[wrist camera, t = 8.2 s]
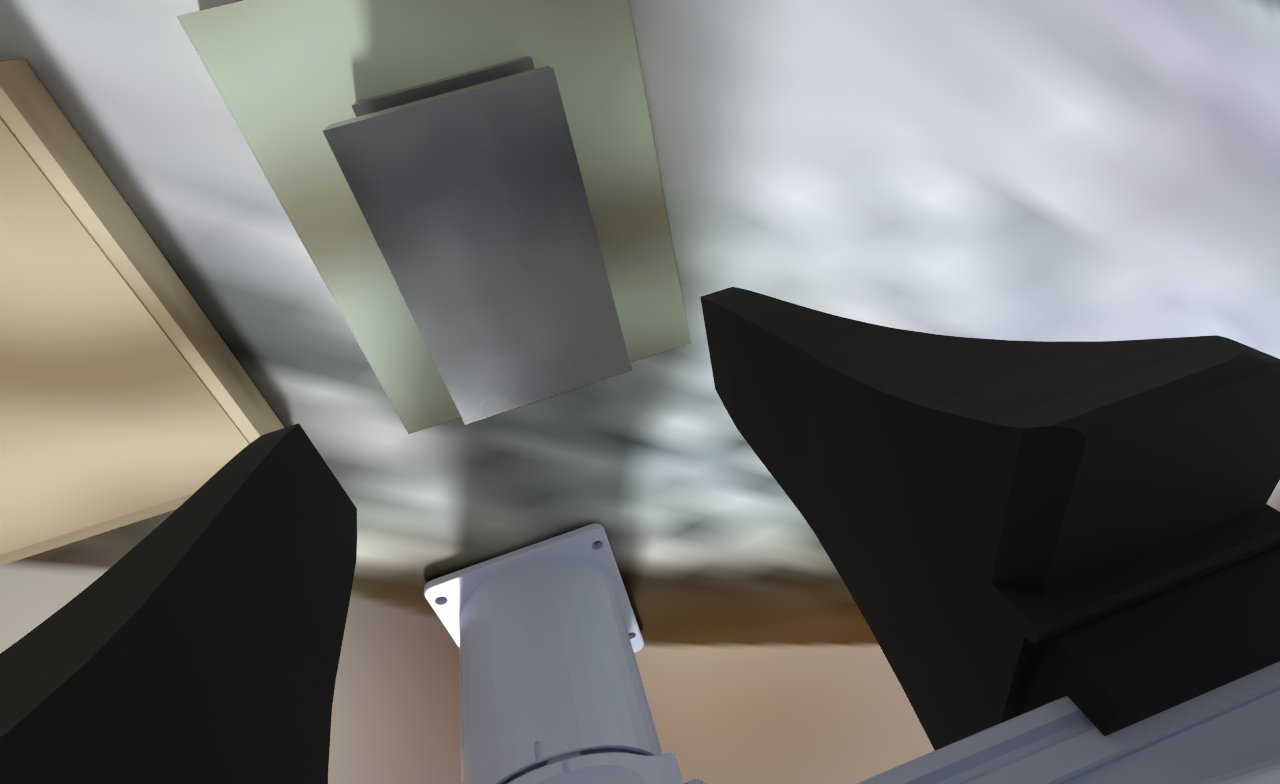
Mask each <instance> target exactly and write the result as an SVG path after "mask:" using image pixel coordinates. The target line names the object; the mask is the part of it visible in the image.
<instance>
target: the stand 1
mask: <svg viewBox="0 0 1280 784" xmlns="http://www.w3.org/2000/svg"><path fill="white" fill-rule="evenodd" d="M283 428H285V427H284V426H283V425H282V423H281V422H280V420H279V419H278V418H277V416H276V415H275V413H274V412H273V410H272V409H271V408H270V406H269V405H268V403H267V402H266V401H265V399H264V398H263V396H262V395H261V393H260V392H259V391H258V389H257V388H256V386H255V385H254V384H253V382H252V381H251V379H250V378H249V376H248V375H247V374H246V372H245V371H244V369H243V368H242V366H241V365H240V364H239V362H238V361H237V359H236V358H235V357H234V355H233V354H232V352H231V351H230V349H229V348H228V347H227V345H226V344H225V342H224V341H223V340H222V338H221V337H220V335H219V334H218V332H217V331H216V330H215V328H214V327H213V325H212V324H211V323H210V321H209V320H208V318H207V317H206V315H205V314H204V313H203V311H202V310H201V308H200V307H199V305H198V304H197V303H196V301H195V300H194V298H193V297H192V296H191V294H190V293H189V291H188V290H187V288H186V287H185V286H184V284H183V283H182V281H181V280H180V279H179V277H178V276H177V274H176V273H175V271H174V270H173V269H172V267H171V266H170V264H169V263H168V262H167V260H166V259H165V257H164V256H163V254H162V253H161V252H160V250H159V249H158V247H157V246H156V245H155V243H154V242H153V240H152V239H151V237H150V236H149V235H148V233H147V232H146V230H145V229H144V227H143V226H142V225H141V223H140V222H139V220H138V219H137V218H136V216H135V215H134V213H133V212H132V210H131V209H130V208H129V206H128V205H127V203H126V202H125V201H124V199H123V198H122V196H121V195H120V193H119V192H118V191H117V189H116V188H115V186H114V185H113V184H112V182H111V181H110V179H109V178H108V176H107V175H106V174H105V172H104V171H103V169H102V168H101V167H100V165H99V164H98V162H97V161H96V159H95V158H94V157H93V155H92V154H91V152H90V151H89V149H88V148H87V147H86V145H85V144H84V142H83V141H82V140H81V138H80V137H79V135H78V134H77V132H76V131H75V130H74V128H73V127H72V125H71V124H70V123H69V121H68V120H67V118H66V117H65V115H64V114H63V113H62V111H61V110H60V108H59V107H58V106H57V104H56V103H55V101H54V100H53V98H52V97H51V96H50V94H49V93H48V91H47V90H46V89H45V87H44V86H43V84H42V83H41V81H40V80H39V79H38V77H37V76H36V74H35V73H34V71H33V70H32V69H31V67H30V66H29V64H28V63H27V62H26V60H25V59H17V60H6V61H0V566H1V565H4V564H7V563H10V562H13V561H16V560H20V559H23V558H26V557H29V556H32V555H35V554H38V553H41V552H44V551H47V550H50V549H54V548H57V547H60V546H63V545H66V544H69V543H72V542H75V541H78V540H81V539H85V538H88V537H91V536H94V535H97V534H100V533H103V532H106V531H109V530H112V529H116V528H119V527H122V526H125V525H128V524H131V523H134V522H137V521H140V520H143V519H147V518H150V517H153V516H156V515H159V514H162V513H165V512H168V511H171V510H174V509H178V508H179V507H180V506H181V505H182V504H183V503H184V502H185V501H186V500H187V499H188V498H190V497H191V496H192V495H193V494H194V493H195V492H196V491H197V490H198V489H199V488H200V487H201V486H202V485H204V484H205V483H206V482H207V481H208V480H209V479H210V478H211V477H212V476H213V475H214V474H216V473H217V472H218V471H219V470H220V469H221V468H222V467H223V466H224V465H225V464H227V463H228V462H229V461H230V460H231V459H232V458H233V457H234V456H236V455H237V454H238V453H239V452H240V451H242V450H243V449H244V448H245V447H246V446H248V445H249V444H250V443H252V442H253V441H254V440H256V439H257V438H259V437H260V436H262V435H264V434H267V433H270V432H273V431H277V430H280V429H283Z"/></svg>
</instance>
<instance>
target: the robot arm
mask: <svg viewBox="0 0 1280 784" xmlns="http://www.w3.org/2000/svg"><path fill="white" fill-rule="evenodd" d="M701 303H702V309H703V315H704V321H705V328H706V334H707V340H708V346H709V352H710V358H711V365H712V371H713V377H714V383H715V389H716V391H717V393H718V395H719V397H720V398H721V400H722V402H723V404H724V406H725V408H726V410H727V411H728V413H729V415H730V417H731V419H732V420H733V422H734V424H735V426H736V427H737V429H738V430H739V432H740V433H741V434H742V436H743V437H744V439H745V440H746V441H747V443H748V444H749V445H750V447H751V448H752V449H753V451H754V452H755V453H756V455H757V456H758V457H759V459H760V460H761V461H762V463H763V464H764V465H765V466H766V468H767V469H768V470H769V472H770V473H771V474H772V476H773V477H774V478H775V480H776V481H777V482H778V483H779V485H780V486H781V487H782V489H783V490H784V491H785V493H786V494H787V495H788V497H789V498H790V499H791V501H792V502H793V503H794V504H795V506H796V507H797V508H798V510H799V511H800V512H801V514H802V515H803V517H804V518H805V520H806V521H807V523H808V524H809V525H810V527H811V528H812V530H813V531H814V533H815V534H816V536H817V538H818V539H819V541H820V543H821V544H822V546H823V548H824V549H825V551H826V553H827V554H828V556H829V558H830V559H831V561H832V563H833V564H834V566H835V568H836V569H837V571H838V573H839V574H840V576H841V578H842V580H843V581H844V583H845V585H846V587H847V588H848V590H849V592H850V594H851V595H852V597H853V599H854V601H855V602H856V604H857V606H858V608H859V609H860V611H861V613H862V615H863V616H864V618H865V620H866V622H867V623H868V625H869V627H870V629H871V630H872V632H873V634H874V636H875V638H876V640H877V642H878V643H879V645H880V647H881V649H882V651H883V653H884V654H885V656H886V658H887V660H888V662H889V663H890V665H891V667H892V669H893V671H894V673H895V675H896V676H897V678H898V680H899V682H900V684H901V686H902V688H903V689H904V691H905V693H906V695H907V697H908V699H909V701H910V703H911V705H912V707H913V709H914V711H915V713H916V714H917V716H918V718H919V720H920V723H921V724H922V726H923V728H924V730H925V732H926V734H927V736H928V738H929V740H930V742H931V744H932V746H933V748H934V750H935V751H933V752H931V753H928V754H926V755H924V756H921V757H919V758H917V759H914V760H912V761H909V762H907V763H905V764H902V765H900V766H897V767H895V768H893V769H890V770H888V771H885V772H883V773H881V774H879V775H876V776H873V777H871V778H869V779H866V780H864V781H862V782H859V783H857V784H1280V512H1279V511H1277V510H1276V509H1274V508H1272V507H1270V506H1269V505H1267V504H1266V503H1267V501H1268V499H1269V498H1270V496H1271V494H1272V492H1273V490H1274V489H1275V487H1276V485H1277V483H1278V482H1279V480H1280V359H1278V358H1275V357H1273V356H1270V355H1268V354H1266V353H1263V352H1261V351H1258V350H1256V349H1253V348H1251V347H1248V346H1246V345H1244V344H1241V343H1239V342H1236V341H1233V340H1231V339H1228V338H1225V337H1221V336H1200V337H1182V338H1164V339H1146V340H1129V341H1107V342H1036V341H1007V340H993V339H978V338H964V337H954V336H944V335H935V334H929V333H922V332H915V331H908V330H901V329H895V328H889V327H884V326H879V325H874V324H869V323H865V322H861V321H856V320H852V319H847V318H843V317H839V316H835V315H831V314H827V313H824V312H820V311H816V310H813V309H809V308H806V307H802V306H799V305H796V304H792V303H789V302H786V301H782V300H779V299H776V298H773V297H769V296H766V295H763V294H759V293H756V292H752V291H749V290H745V289H741V288H735V287H731V288H727V289H724V290H721V291H718V292H715V293H712V294H708V295H705V296H702V297H701ZM596 541H600V542H598V543H594V542H596ZM356 550H357V508H356V507H355V505H354V504H353V502H352V501H351V500H350V498H349V497H348V495H347V494H346V492H345V491H344V489H343V488H342V486H341V485H340V483H339V482H338V480H337V479H336V477H335V476H334V475H333V473H332V472H331V470H330V469H329V467H328V466H327V464H326V463H325V461H324V460H323V458H322V457H321V455H320V454H319V452H318V451H317V450H316V448H315V447H314V445H313V444H312V442H311V441H310V439H309V438H308V436H307V435H306V433H305V432H304V430H303V429H302V427H301V426H300V425H299V424H296V425H292V426H289V427H286V428H283V429H280V430H277V431H273V432H270V433H267V434H264V435H262V436H260V437H259V438H257V439H256V440H254V441H253V442H252V443H250V444H249V445H248V446H246V447H245V448H244V449H243V450H242V451H240V452H239V453H238V454H237V455H236V456H234V457H233V458H232V459H231V460H230V461H229V462H228V463H227V464H225V465H224V466H223V467H222V468H221V469H220V470H219V471H218V472H217V473H216V474H214V475H213V476H212V477H211V478H210V479H209V480H208V481H207V482H206V483H205V484H204V485H202V486H201V487H200V488H199V489H198V490H197V491H196V492H195V493H194V494H193V495H192V496H191V497H190V498H188V499H187V500H186V501H185V502H184V503H183V504H182V505H181V506H180V507H179V508H178V509H177V510H175V511H174V512H173V513H172V514H171V515H170V516H169V517H168V518H167V519H166V520H165V521H164V522H162V523H161V524H160V525H159V526H158V527H157V528H156V529H155V530H153V531H152V532H151V533H150V534H149V535H148V536H147V537H145V538H144V539H143V540H142V541H141V542H140V543H139V544H137V545H136V546H135V547H134V548H133V549H132V550H131V551H129V552H128V553H127V554H126V555H125V556H124V557H123V558H121V559H120V560H119V561H118V562H117V563H116V564H115V565H113V566H112V567H111V568H110V569H109V570H108V571H107V572H105V573H104V574H103V575H102V576H101V577H99V578H98V579H97V580H96V581H95V582H93V583H92V584H91V585H90V586H89V587H87V588H86V589H85V590H84V591H82V592H81V593H80V594H79V595H77V596H76V597H75V598H74V599H72V600H71V601H70V602H69V603H67V604H66V605H65V606H64V607H62V608H61V609H60V610H58V611H57V612H56V613H54V614H53V615H52V616H51V617H49V618H48V619H47V620H45V621H44V622H43V623H41V624H40V625H39V626H37V627H36V628H35V629H33V630H32V631H31V632H29V633H28V634H27V635H26V636H24V637H23V638H21V639H20V640H19V641H18V642H16V643H15V644H13V645H12V646H11V647H9V648H8V649H6V650H5V651H4V652H2V653H1V654H0V784H328V762H329V746H330V729H331V728H330V727H331V712H332V703H333V695H334V687H335V679H336V674H337V669H338V663H339V657H340V652H341V646H342V640H343V635H344V629H345V623H346V618H347V612H348V607H349V601H350V595H351V589H352V583H353V577H354V571H355V564H356ZM424 596H425V598H426V599H427V601H428V602H429V604H430V605H431V607H432V608H433V610H434V611H435V613H436V614H437V616H438V617H439V619H440V620H441V622H442V623H443V624H444V626H445V627H446V629H447V630H448V632H449V633H450V635H451V636H452V638H453V639H454V641H455V642H456V644H457V645H458V647H459V648H460V709H461V710H460V711H461V712H460V713H461V784H706V783H704V782H703V781H702V780H699V779H694V780H691V781H689V782H686V783H683V780H682V777H681V774H680V770H679V767H678V763H677V760H676V757H675V754H674V753H672V752H670V753H666V754H663V753H662V749H661V746H660V742H659V739H658V735H657V732H656V729H655V725H654V722H653V718H652V714H651V711H650V708H649V704H648V700H647V697H646V693H645V690H644V686H643V683H642V679H641V676H640V672H639V669H638V665H637V662H636V658H635V655H634V653H635V652H637V651H639V650H641V649H642V648H643V646H644V641H643V638H642V635H641V632H640V629H639V626H638V624H637V621H636V618H635V615H634V612H633V609H632V607H631V604H630V601H629V598H628V595H627V592H626V589H625V587H624V584H623V581H622V578H621V575H620V572H619V570H618V567H617V564H616V561H615V558H614V555H613V552H612V550H611V547H610V544H609V541H608V538H607V535H606V533H605V530H604V528H603V526H602V525H600V524H590V525H587V526H585V527H582V528H579V529H576V530H573V531H570V532H567V533H565V534H562V535H559V536H556V537H553V538H550V539H547V540H545V541H542V542H539V543H536V544H533V545H530V546H527V547H525V548H522V549H519V550H516V551H513V552H510V553H507V554H505V555H502V556H499V557H496V558H493V559H490V560H487V561H484V562H482V563H479V564H476V565H473V566H470V567H467V568H464V569H462V570H459V571H456V572H453V573H450V574H447V575H444V576H442V577H439V578H436V579H433V580H431V581H429V582H427V583H426V585H425V587H424ZM441 596H443V597H441ZM439 597H441V598H439Z"/></svg>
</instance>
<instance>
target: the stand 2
mask: <svg viewBox="0 0 1280 784" xmlns="http://www.w3.org/2000/svg"><path fill="white" fill-rule="evenodd" d="M177 18H178V19H179V21H180V23H181V25H182V27H183V28H184V30H185V32H186V34H187V36H188V37H189V39H190V41H191V43H192V45H193V46H194V48H195V50H196V52H197V54H198V55H199V57H200V59H201V61H202V63H203V64H204V66H205V68H206V70H207V72H208V73H209V75H210V77H211V79H212V81H213V82H214V84H215V86H216V88H217V90H218V91H219V93H220V95H221V97H222V99H223V100H224V102H225V104H226V106H227V108H228V109H229V111H230V113H231V115H232V117H233V118H234V120H235V122H236V124H237V126H238V127H239V129H240V131H241V133H242V135H243V136H244V138H245V140H246V142H247V144H248V145H249V147H250V149H251V151H252V153H253V155H254V156H255V158H256V160H257V162H258V164H259V165H260V167H261V169H262V171H263V173H264V174H265V176H266V178H267V180H268V182H269V183H270V185H271V187H272V189H273V191H274V192H275V194H276V196H277V198H278V200H279V201H280V203H281V205H282V207H283V209H284V210H285V212H286V214H287V216H288V218H289V219H290V221H291V223H292V225H293V227H294V228H295V230H296V232H297V234H298V236H299V237H300V239H301V241H302V243H303V245H304V246H305V248H306V250H307V252H308V254H309V255H310V257H311V259H312V261H313V263H314V264H315V266H316V268H317V270H318V272H319V273H320V275H321V277H322V279H323V281H324V282H325V284H326V286H327V288H328V290H329V291H330V293H331V295H332V297H333V299H334V300H335V302H336V304H337V306H338V308H339V309H340V311H341V313H342V315H343V317H344V318H345V320H346V322H347V324H348V326H349V327H350V329H351V331H352V333H353V335H354V336H355V338H356V340H357V342H358V344H359V345H360V347H361V349H362V351H363V353H364V354H365V356H366V358H367V360H368V362H369V363H370V365H371V367H372V369H373V371H374V373H375V374H376V376H377V378H378V380H379V382H380V383H381V385H382V387H383V389H384V391H385V392H386V394H387V396H388V398H389V400H390V401H391V403H392V405H393V407H394V409H395V410H396V412H397V414H398V416H399V418H400V419H401V421H402V423H403V425H404V427H405V428H406V430H407V432H408V434H411V433H414V432H417V431H420V430H423V429H426V428H429V427H432V426H435V425H438V424H442V423H445V422H448V421H451V420H454V419H457V418H460V417H461V415H460V413H459V411H458V409H457V407H456V405H455V403H454V401H453V399H452V397H451V395H450V393H449V391H448V389H447V387H446V384H445V382H444V380H443V378H442V376H441V374H440V372H439V370H438V368H437V366H436V364H435V362H434V360H433V358H432V356H431V354H430V352H429V349H428V347H427V345H426V343H425V341H424V339H423V337H422V335H421V333H420V331H419V329H418V327H417V325H416V323H415V321H414V319H413V317H412V314H411V312H410V310H409V308H408V306H407V304H406V302H405V300H404V298H403V296H402V294H401V292H400V290H399V288H398V286H397V284H396V282H395V279H394V277H393V275H392V273H391V271H390V269H389V267H388V265H387V263H386V261H385V259H384V257H383V255H382V253H381V251H380V249H379V246H378V244H377V242H376V240H375V238H374V236H373V234H372V232H371V230H370V228H369V226H368V224H367V222H366V220H365V218H364V216H363V214H362V211H361V209H360V207H359V205H358V203H357V201H356V199H355V197H354V195H353V193H352V191H351V189H350V187H349V185H348V183H347V181H346V179H345V176H344V174H343V172H342V170H341V168H340V166H339V164H338V162H337V160H336V158H335V156H334V154H333V152H332V150H331V148H330V146H329V144H328V141H327V139H326V137H325V135H324V133H323V130H324V129H325V128H326V127H327V126H329V125H330V124H333V123H337V122H341V121H344V120H348V119H352V118H356V115H355V113H354V111H353V108H352V106H351V105H353V104H354V103H355V102H357V101H360V100H364V99H368V98H372V97H375V96H379V95H383V94H386V93H390V92H394V91H398V90H401V89H405V88H409V87H413V86H416V85H420V84H424V83H428V82H431V81H435V80H439V79H443V78H446V77H450V76H454V75H458V74H461V73H465V72H469V71H472V70H476V69H480V68H484V67H487V66H491V65H495V64H499V63H502V62H506V61H510V60H514V59H517V58H521V57H525V56H530V57H532V60H533V64H534V68H535V69H537V68H541V67H544V66H550V67H552V68H554V72H555V76H556V80H557V84H558V87H559V91H560V95H561V99H562V103H563V107H564V110H565V114H566V118H567V122H568V126H569V130H570V134H571V137H572V141H573V145H574V149H575V153H576V157H577V160H578V164H579V168H580V172H581V176H582V180H583V184H584V187H585V191H586V195H587V199H588V203H589V207H590V210H591V214H592V218H593V222H594V226H595V230H596V233H597V237H598V241H599V245H600V249H601V253H602V257H603V260H604V264H605V268H606V272H607V276H608V280H609V283H610V287H611V291H612V295H613V299H614V303H615V307H616V310H617V314H618V318H619V322H620V326H621V330H622V333H623V337H624V341H625V345H626V349H627V353H628V357H629V360H630V363H631V362H634V361H637V360H640V359H643V358H646V357H649V356H652V355H655V354H659V353H662V352H665V351H668V350H671V349H674V348H677V347H680V346H683V345H686V344H690V338H689V333H688V327H687V321H686V316H685V310H684V305H683V299H682V294H681V288H680V283H679V277H678V272H677V266H676V261H675V255H674V250H673V244H672V238H671V233H670V227H669V222H668V216H667V211H666V205H665V200H664V194H663V189H662V183H661V178H660V172H659V166H658V161H657V155H656V150H655V144H654V139H653V133H652V128H651V122H650V117H649V111H648V106H647V100H646V94H645V89H644V83H643V78H642V72H641V67H640V61H639V56H638V50H637V45H636V39H635V34H634V28H633V23H632V17H631V11H630V6H629V0H243V1H238V2H234V3H230V4H226V5H222V6H218V7H213V8H209V9H205V10H201V11H197V12H193V13H188V14H184V15H180V16H177Z"/></svg>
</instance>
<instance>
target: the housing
mask: <svg viewBox="0 0 1280 784" xmlns="http://www.w3.org/2000/svg"><path fill="white" fill-rule="evenodd" d="M351 106H352V108H353V111H354V113H355V115H356V118H352V119H348V120H344V121H341V122H337V123H333V124H330V125H329V126H327V127H326V128H325V129H324V130H323V133H324V135H325V137H326V139H327V141H328V144H329V146H330V148H331V150H332V152H333V154H334V156H335V158H336V160H337V162H338V164H339V166H340V168H341V170H342V172H343V174H344V176H345V179H346V181H347V183H348V185H349V187H350V189H351V191H352V193H353V195H354V197H355V199H356V201H357V203H358V205H359V207H360V209H361V211H362V214H363V216H364V218H365V220H366V222H367V224H368V226H369V228H370V230H371V232H372V234H373V236H374V238H375V240H376V242H377V244H378V246H379V249H380V251H381V253H382V255H383V257H384V259H385V261H386V263H387V265H388V267H389V269H390V271H391V273H392V275H393V277H394V279H395V282H396V284H397V286H398V288H399V290H400V292H401V294H402V296H403V298H404V300H405V302H406V304H407V306H408V308H409V310H410V312H411V314H412V317H413V319H414V321H415V323H416V325H417V327H418V329H419V331H420V333H421V335H422V337H423V339H424V341H425V343H426V345H427V347H428V349H429V352H430V354H431V356H432V358H433V360H434V362H435V364H436V366H437V368H438V370H439V372H440V374H441V376H442V378H443V380H444V382H445V384H446V387H447V389H448V391H449V393H450V395H451V397H452V399H453V401H454V403H455V405H456V407H457V409H458V411H459V413H460V415H461V417H462V419H463V422H464V424H465V425H466V424H469V423H472V422H475V421H478V420H481V419H485V418H488V417H491V416H494V415H497V414H500V413H503V412H506V411H509V410H512V409H515V408H518V407H521V406H524V405H527V404H530V403H533V402H536V401H539V400H542V399H545V398H548V397H551V396H555V395H558V394H561V393H564V392H567V391H570V390H573V389H576V388H579V387H582V386H585V385H588V384H591V383H594V382H597V381H600V380H603V379H606V378H609V377H612V376H615V375H618V374H622V373H625V372H628V371H631V370H632V368H631V364H630V360H629V357H628V353H627V349H626V345H625V341H624V337H623V333H622V330H621V326H620V322H619V318H618V314H617V310H616V307H615V303H614V299H613V295H612V291H611V287H610V283H609V280H608V276H607V272H606V268H605V264H604V260H603V257H602V253H601V249H600V245H599V241H598V237H597V233H596V230H595V226H594V222H593V218H592V214H591V210H590V207H589V203H588V199H587V195H586V191H585V187H584V184H583V180H582V176H581V172H580V168H579V164H578V160H577V157H576V153H575V149H574V145H573V141H572V137H571V134H570V130H569V126H568V122H567V118H566V114H565V110H564V107H563V103H562V99H561V95H560V91H559V87H558V84H557V80H556V76H555V72H554V68H552V67H550V66H544V67H541V68H537V69H535V68H534V64H533V60H532V57H530V56H525V57H521V58H517V59H514V60H510V61H506V62H502V63H499V64H495V65H491V66H487V67H484V68H480V69H476V70H472V71H469V72H465V73H461V74H458V75H454V76H450V77H446V78H443V79H439V80H435V81H431V82H428V83H424V84H420V85H416V86H413V87H409V88H405V89H401V90H398V91H394V92H390V93H386V94H383V95H379V96H375V97H372V98H368V99H364V100H360V101H357V102H355V103H354V104H353V105H351Z"/></svg>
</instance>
